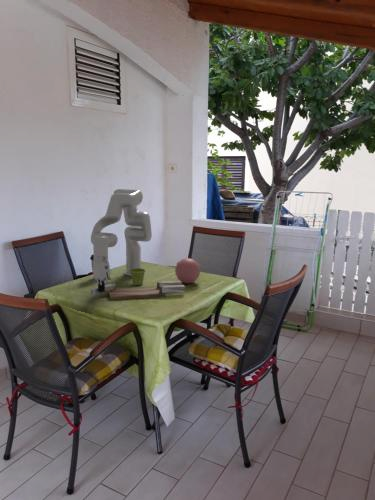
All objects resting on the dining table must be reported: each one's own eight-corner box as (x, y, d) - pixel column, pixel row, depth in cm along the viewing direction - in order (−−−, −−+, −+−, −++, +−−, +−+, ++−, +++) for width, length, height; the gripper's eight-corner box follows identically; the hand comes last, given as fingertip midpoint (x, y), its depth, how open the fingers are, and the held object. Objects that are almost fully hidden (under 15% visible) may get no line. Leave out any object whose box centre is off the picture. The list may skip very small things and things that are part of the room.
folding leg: (113, 288, 230) (113, 283, 229) (116, 289, 228) (116, 284, 227) (91, 293, 220) (90, 288, 219) (94, 294, 218) (93, 289, 217)
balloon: (189, 276, 265) (190, 253, 262) (204, 284, 247) (205, 260, 244) (168, 278, 258) (168, 255, 255) (181, 287, 241) (181, 262, 237)
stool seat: (108, 291, 230) (108, 283, 229) (179, 288, 240) (180, 280, 239) (110, 300, 217) (110, 291, 216) (185, 295, 227) (185, 287, 226)
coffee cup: (109, 278, 256) (108, 255, 252) (98, 281, 248) (97, 257, 245) (98, 275, 261) (97, 252, 257) (87, 278, 253) (86, 255, 250)
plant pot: (148, 284, 246) (148, 270, 244) (136, 287, 239) (136, 273, 237) (138, 280, 252) (138, 267, 250) (126, 283, 245) (126, 270, 243)
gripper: (115, 260, 212) (115, 293, 216) (98, 255, 222) (99, 287, 226) (103, 262, 207) (103, 296, 211) (86, 257, 217) (87, 289, 221)
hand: (101, 291), depth 219 cm, fingers closed
